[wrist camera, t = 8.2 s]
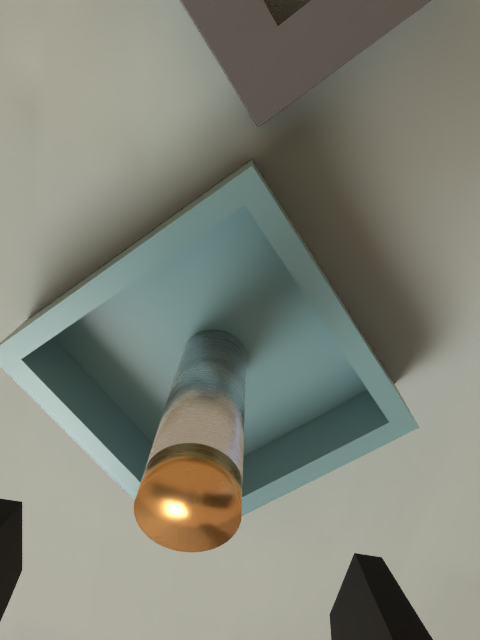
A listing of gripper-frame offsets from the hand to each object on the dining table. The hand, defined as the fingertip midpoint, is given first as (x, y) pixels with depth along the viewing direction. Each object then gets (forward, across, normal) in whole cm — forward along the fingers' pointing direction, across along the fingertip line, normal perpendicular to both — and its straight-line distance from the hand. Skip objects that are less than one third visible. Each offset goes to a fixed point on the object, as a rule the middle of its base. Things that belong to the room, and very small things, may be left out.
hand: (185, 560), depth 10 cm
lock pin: (+9, 0, 0) cm, 9 cm away
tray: (+10, 0, 0) cm, 10 cm away
